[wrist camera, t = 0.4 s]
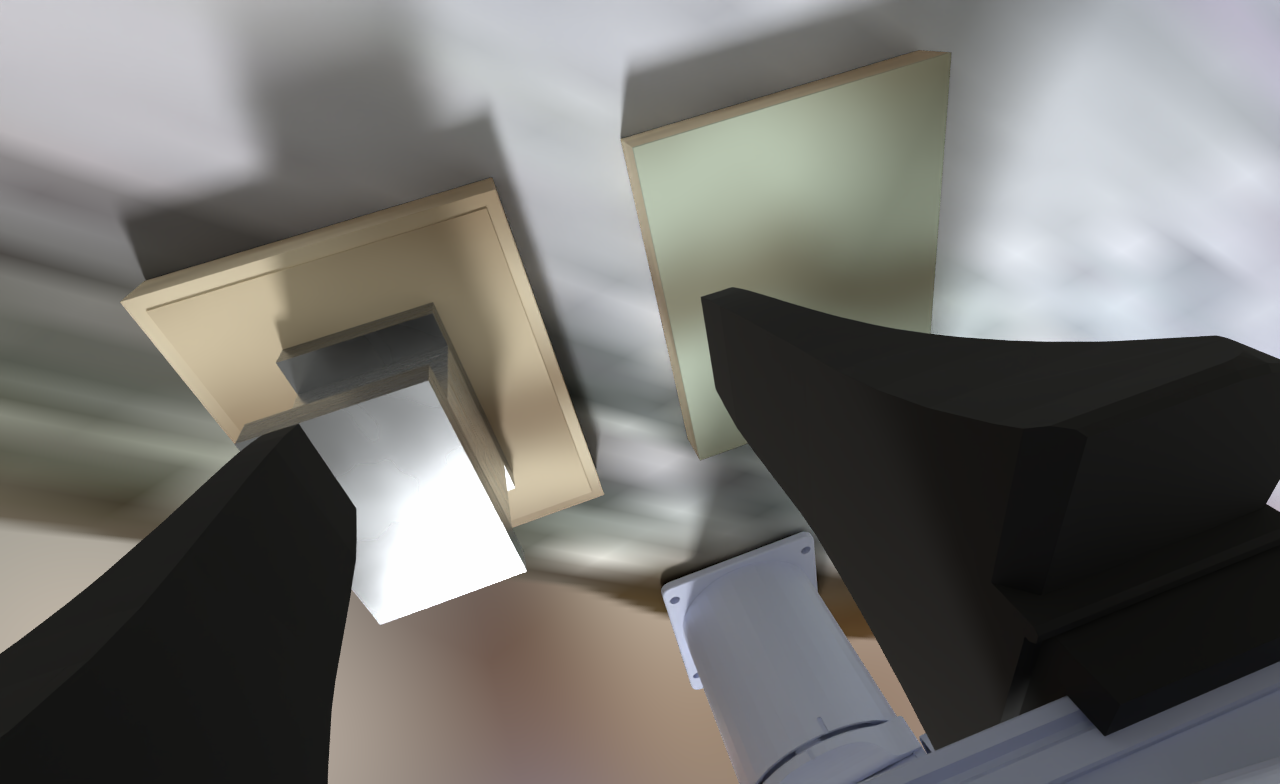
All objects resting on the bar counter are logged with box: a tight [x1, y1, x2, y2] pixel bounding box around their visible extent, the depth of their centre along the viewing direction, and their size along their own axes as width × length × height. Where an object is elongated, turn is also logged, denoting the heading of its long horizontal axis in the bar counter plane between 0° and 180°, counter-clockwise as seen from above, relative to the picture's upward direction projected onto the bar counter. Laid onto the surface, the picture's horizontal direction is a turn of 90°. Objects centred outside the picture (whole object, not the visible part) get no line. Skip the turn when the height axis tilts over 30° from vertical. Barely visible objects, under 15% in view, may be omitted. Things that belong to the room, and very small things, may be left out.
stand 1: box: [121, 178, 604, 528], centre depth 20 cm, size 12×10×2 cm
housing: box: [235, 302, 527, 624], centre depth 17 cm, size 7×4×5 cm, turn 11°
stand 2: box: [621, 50, 951, 460], centre depth 21 cm, size 12×10×2 cm
